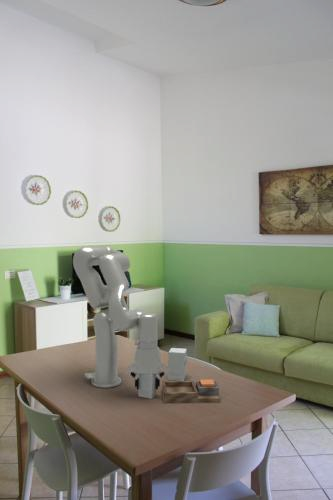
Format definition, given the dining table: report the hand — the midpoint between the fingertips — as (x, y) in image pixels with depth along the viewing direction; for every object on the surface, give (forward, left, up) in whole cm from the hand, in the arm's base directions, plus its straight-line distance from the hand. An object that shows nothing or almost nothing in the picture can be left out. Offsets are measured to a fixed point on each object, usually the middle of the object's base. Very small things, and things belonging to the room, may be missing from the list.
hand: (147, 388), depth 172 cm
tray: (+17, 0, -3) cm, 17 cm away
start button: (+24, 0, 0) cm, 24 cm away
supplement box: (+14, +20, -3) cm, 25 cm away
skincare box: (0, 0, -3) cm, 3 cm away
